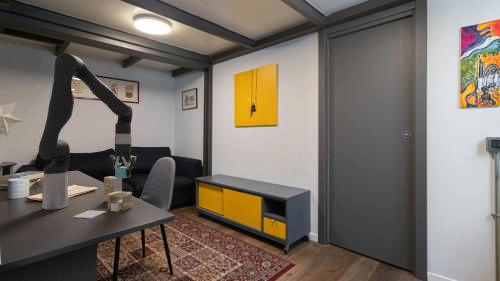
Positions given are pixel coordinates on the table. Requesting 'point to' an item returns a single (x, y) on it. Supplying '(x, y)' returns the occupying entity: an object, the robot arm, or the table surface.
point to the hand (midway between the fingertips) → (123, 176)
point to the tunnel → (125, 199)
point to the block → (120, 172)
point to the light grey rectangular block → (116, 206)
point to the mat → (89, 214)
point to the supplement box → (112, 186)
